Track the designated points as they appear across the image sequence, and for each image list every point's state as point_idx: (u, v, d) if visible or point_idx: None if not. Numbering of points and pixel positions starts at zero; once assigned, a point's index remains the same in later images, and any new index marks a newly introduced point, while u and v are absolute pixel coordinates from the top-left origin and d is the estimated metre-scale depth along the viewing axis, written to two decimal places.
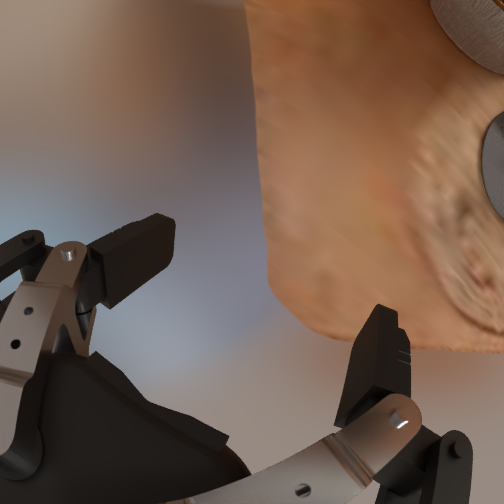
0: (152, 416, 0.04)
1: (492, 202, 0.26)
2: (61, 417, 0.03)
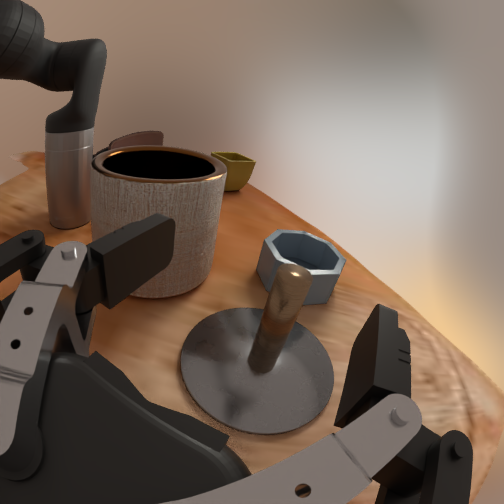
0: (152, 416, 0.04)
1: (238, 427, 0.22)
2: (61, 417, 0.03)
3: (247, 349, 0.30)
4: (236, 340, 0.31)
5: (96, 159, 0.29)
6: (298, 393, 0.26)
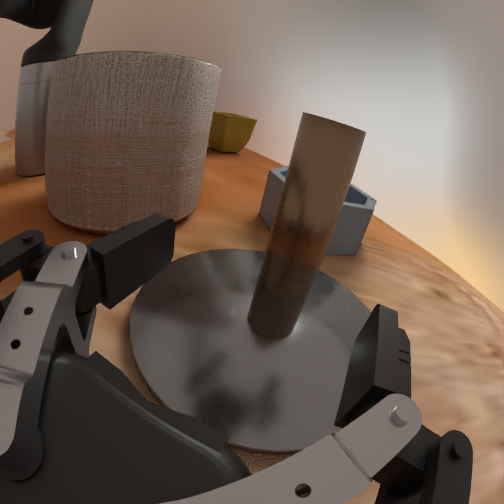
0: (152, 416, 0.04)
1: None
2: (61, 417, 0.03)
3: (247, 301, 0.18)
4: (230, 287, 0.19)
5: None
6: (338, 373, 0.14)
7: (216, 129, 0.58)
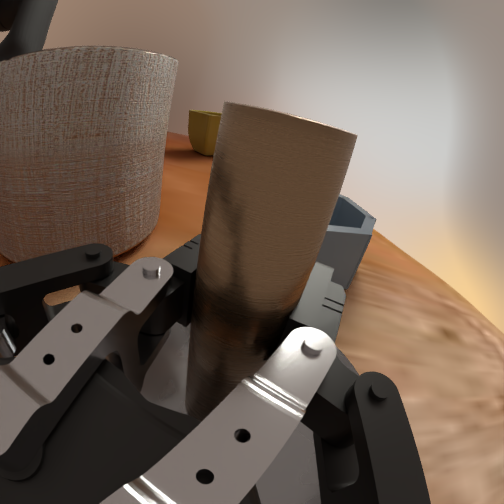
0: (152, 416, 0.04)
1: None
2: (61, 417, 0.03)
3: None
4: (170, 352, 0.14)
5: None
6: (299, 481, 0.09)
7: (199, 130, 0.52)
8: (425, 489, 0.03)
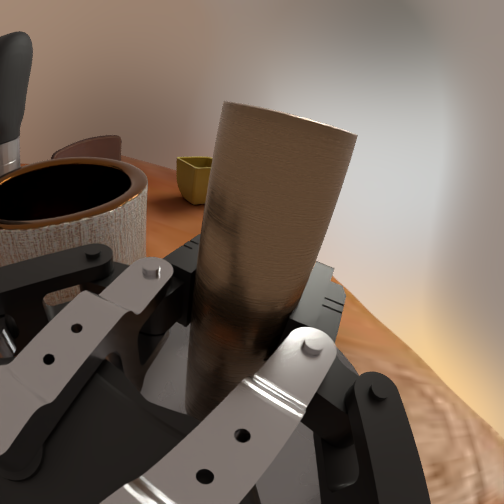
0: (152, 416, 0.04)
1: None
2: (61, 417, 0.03)
3: None
4: (170, 352, 0.14)
5: None
6: (299, 482, 0.09)
7: (186, 181, 0.56)
8: (426, 489, 0.03)
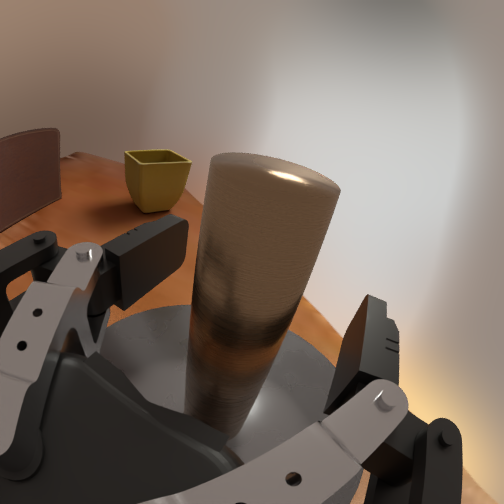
0: (152, 416, 0.04)
1: None
2: (61, 417, 0.03)
3: None
4: (170, 367, 0.14)
5: None
6: None
7: (133, 182, 0.40)
8: None
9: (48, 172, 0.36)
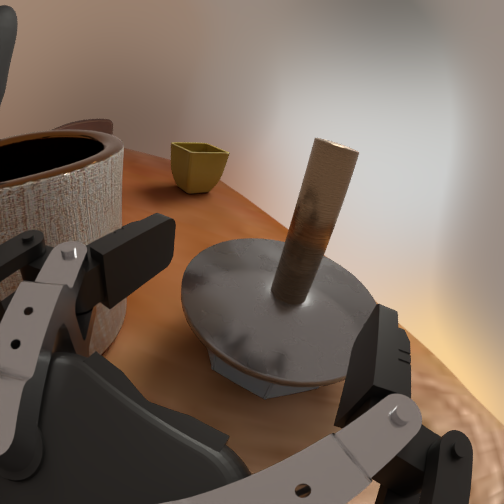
0: (152, 416, 0.04)
1: (261, 370, 0.15)
2: (61, 417, 0.03)
3: (270, 277, 0.24)
4: (256, 267, 0.25)
5: None
6: (340, 331, 0.20)
7: (181, 167, 0.50)
8: None
9: None
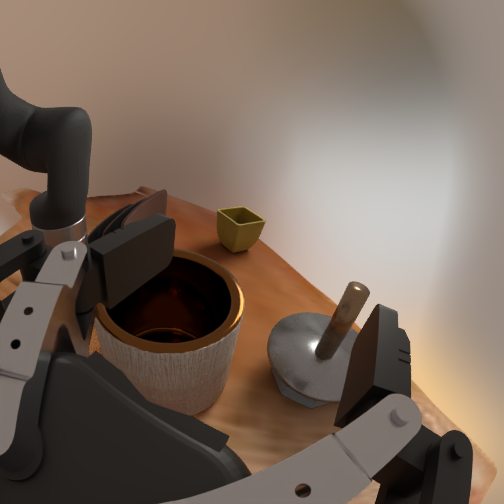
0: (152, 416, 0.04)
1: (316, 396, 0.31)
2: (61, 417, 0.03)
3: (313, 343, 0.40)
4: (305, 336, 0.41)
5: None
6: None
7: (227, 233, 0.66)
8: None
9: None
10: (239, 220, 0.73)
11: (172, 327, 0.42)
